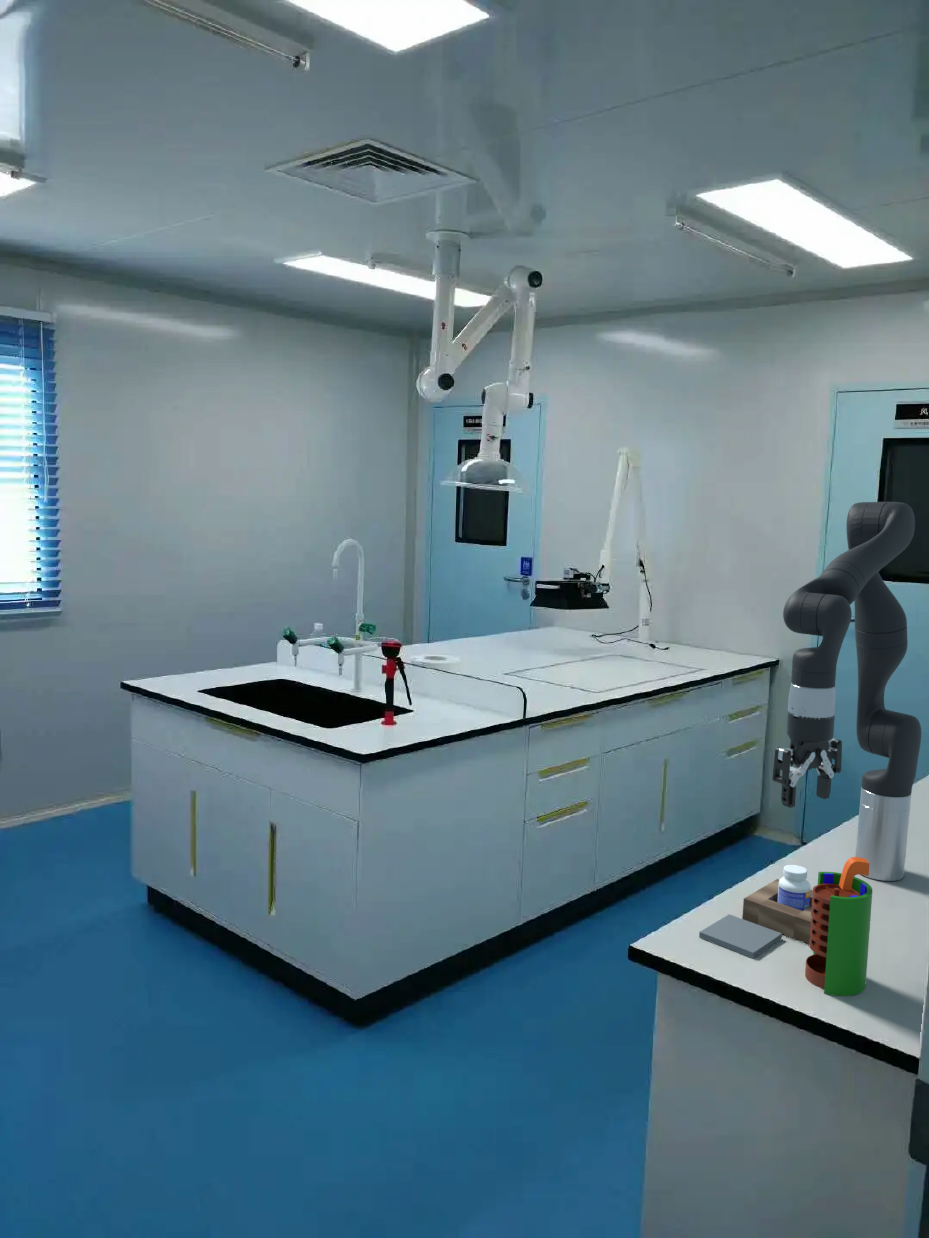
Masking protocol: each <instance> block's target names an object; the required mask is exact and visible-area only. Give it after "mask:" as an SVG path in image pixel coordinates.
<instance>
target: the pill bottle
mask: <svg viewBox="0 0 929 1238" xmlns="http://www.w3.org/2000/svg"><path fill="white" fill-rule="evenodd" d="M782 875H783V876H782V877H781V878H780V879H779V886H778V903H781V904H784V905H786V906H789V907H792V908H795V909H798V910H801V911H804V910H805V909H807V908H808V907H809V903H810V890H811V884H810V882H809V881H808V880H807V878H808V870H807V868H805V867H804V866H801V865H797V864H787V865H784V866H783V872H782Z"/></svg>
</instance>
